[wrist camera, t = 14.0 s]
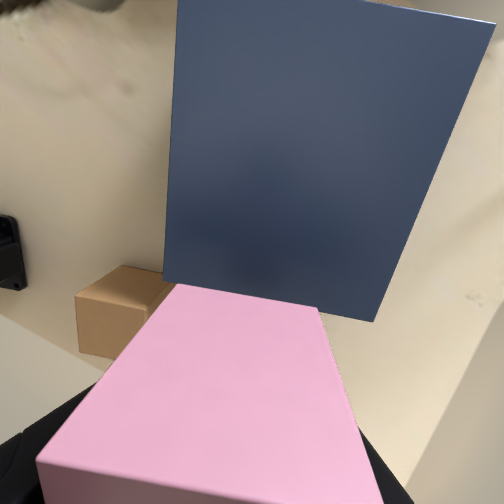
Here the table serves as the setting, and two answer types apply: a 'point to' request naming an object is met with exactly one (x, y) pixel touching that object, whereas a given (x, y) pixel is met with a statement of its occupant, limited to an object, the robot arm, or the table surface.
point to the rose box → (214, 413)
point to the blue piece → (308, 143)
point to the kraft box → (117, 309)
